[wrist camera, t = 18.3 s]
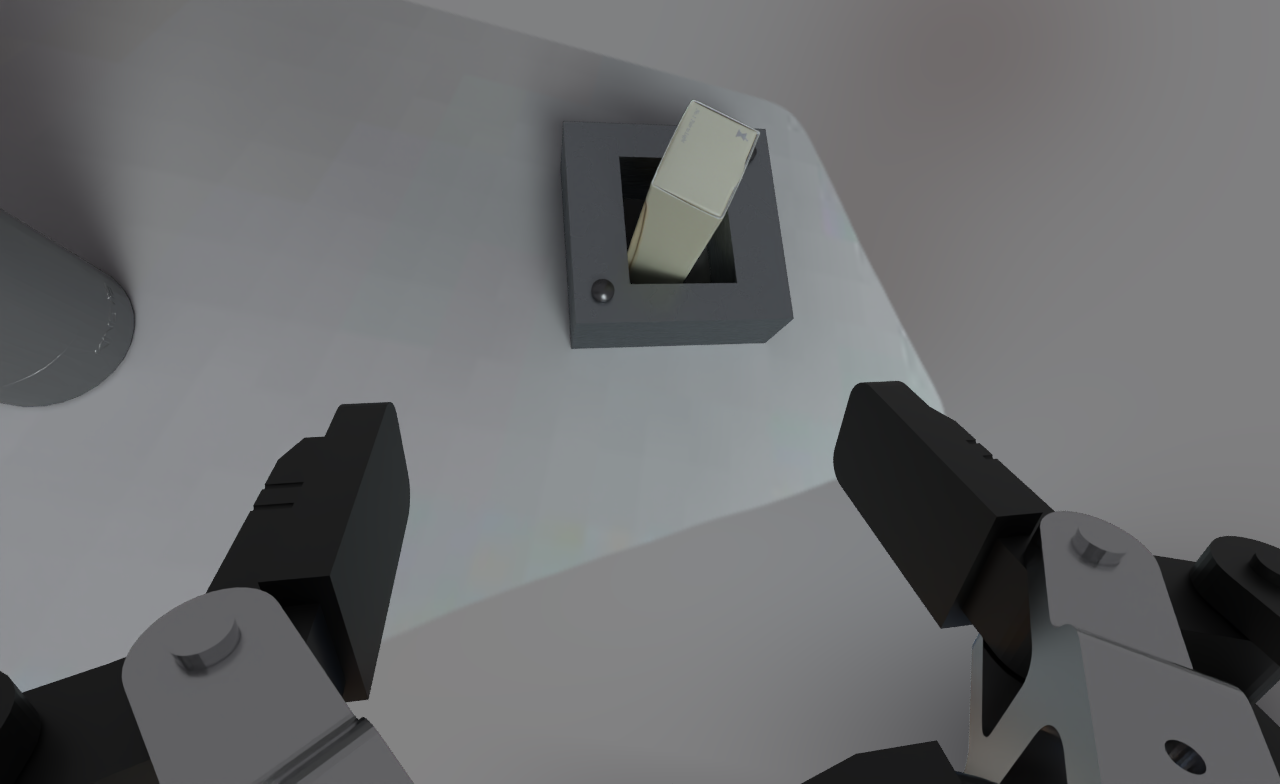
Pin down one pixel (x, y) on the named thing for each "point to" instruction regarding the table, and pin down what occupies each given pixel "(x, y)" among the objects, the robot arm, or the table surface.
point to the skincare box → (689, 194)
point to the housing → (665, 313)
